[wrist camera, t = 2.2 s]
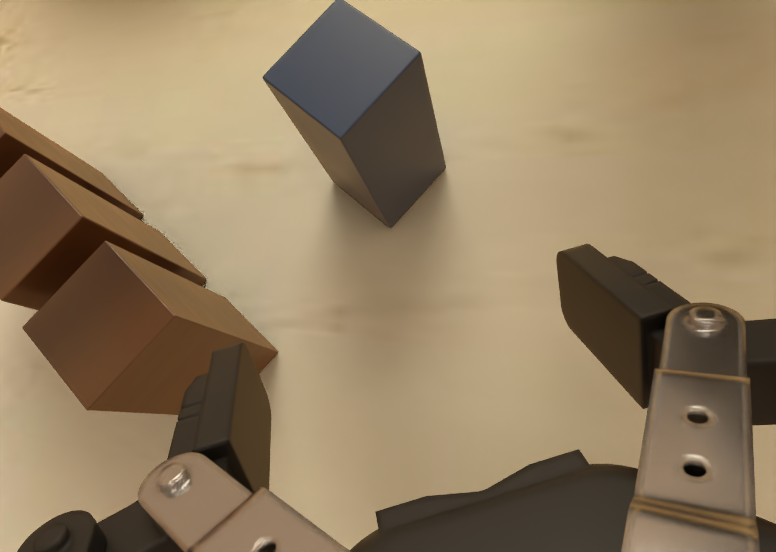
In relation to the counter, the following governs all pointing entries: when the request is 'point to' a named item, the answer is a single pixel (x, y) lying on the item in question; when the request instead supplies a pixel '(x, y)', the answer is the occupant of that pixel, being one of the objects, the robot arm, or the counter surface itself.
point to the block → (362, 109)
